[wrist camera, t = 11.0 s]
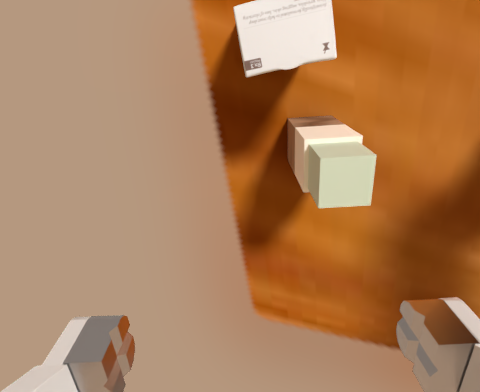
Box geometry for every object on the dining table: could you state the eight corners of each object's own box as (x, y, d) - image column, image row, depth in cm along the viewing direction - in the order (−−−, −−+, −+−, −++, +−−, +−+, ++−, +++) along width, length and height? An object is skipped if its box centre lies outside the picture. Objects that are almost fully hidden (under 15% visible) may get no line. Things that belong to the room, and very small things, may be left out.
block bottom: (331, 115, 44) (344, 124, 38) (328, 157, 46) (341, 171, 41) (287, 118, 44) (294, 127, 38) (287, 159, 46) (294, 173, 41)
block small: (357, 141, 33) (376, 155, 28) (353, 185, 35) (370, 205, 30) (309, 144, 33) (320, 158, 28) (307, 188, 35) (318, 208, 30)
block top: (344, 124, 38) (362, 135, 33) (341, 171, 41) (357, 189, 35) (295, 127, 38) (304, 139, 33) (294, 174, 41) (303, 192, 35)
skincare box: (301, 3, 38) (336, -25, 25) (307, 57, 41) (342, 58, 27) (233, 19, 39) (231, 0, 25) (243, 71, 41) (246, 79, 28)
